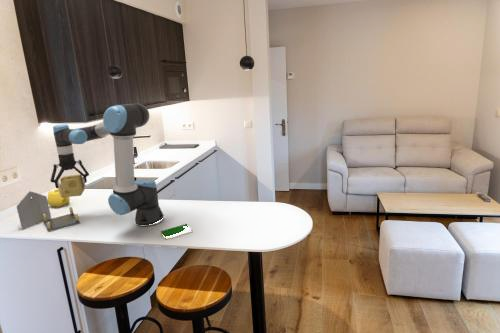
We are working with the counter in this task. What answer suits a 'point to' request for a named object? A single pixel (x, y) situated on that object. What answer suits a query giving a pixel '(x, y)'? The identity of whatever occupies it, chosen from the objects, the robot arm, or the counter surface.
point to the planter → (33, 209)
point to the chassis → (61, 221)
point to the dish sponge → (173, 230)
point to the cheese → (71, 186)
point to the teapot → (57, 199)
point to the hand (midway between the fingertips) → (72, 190)
